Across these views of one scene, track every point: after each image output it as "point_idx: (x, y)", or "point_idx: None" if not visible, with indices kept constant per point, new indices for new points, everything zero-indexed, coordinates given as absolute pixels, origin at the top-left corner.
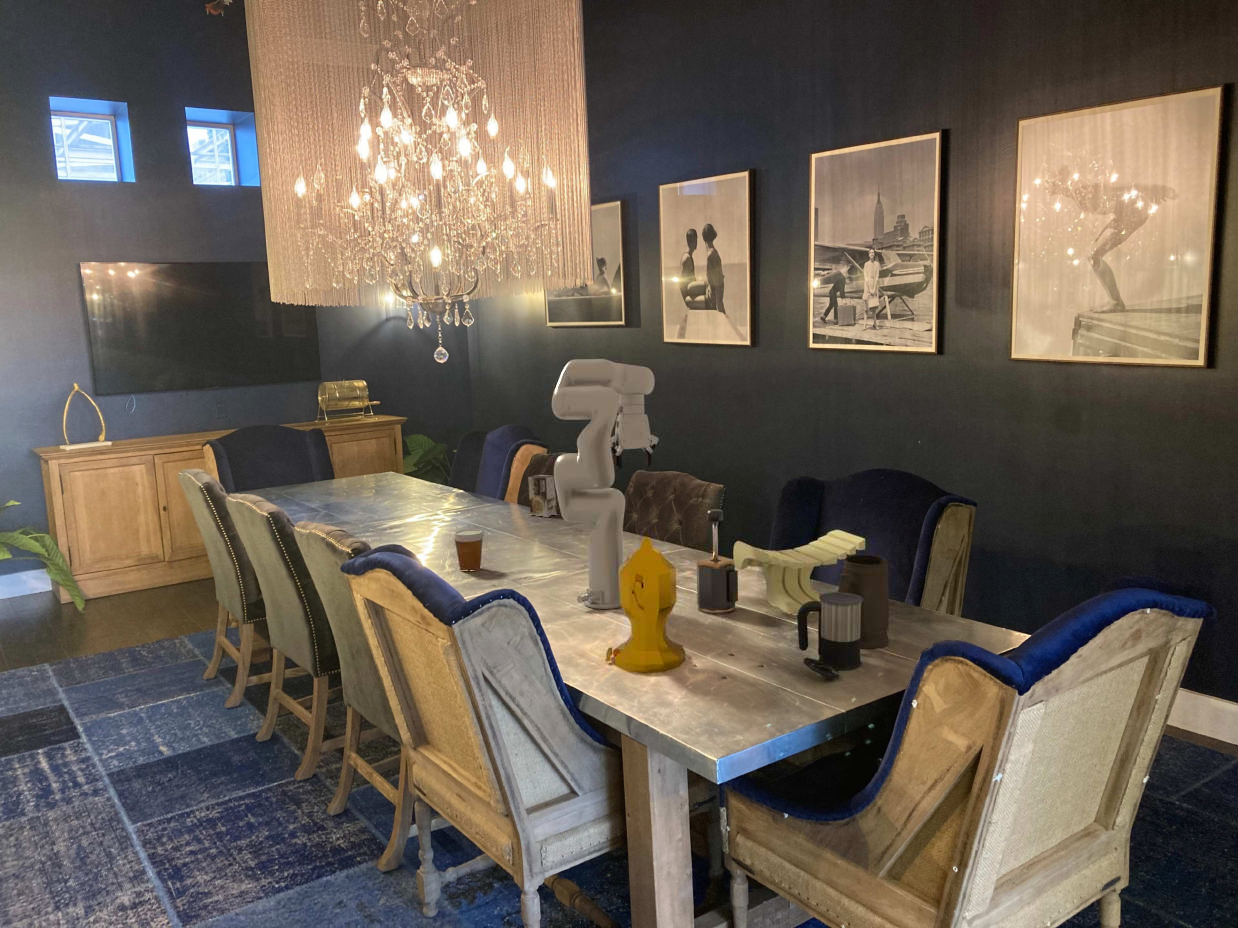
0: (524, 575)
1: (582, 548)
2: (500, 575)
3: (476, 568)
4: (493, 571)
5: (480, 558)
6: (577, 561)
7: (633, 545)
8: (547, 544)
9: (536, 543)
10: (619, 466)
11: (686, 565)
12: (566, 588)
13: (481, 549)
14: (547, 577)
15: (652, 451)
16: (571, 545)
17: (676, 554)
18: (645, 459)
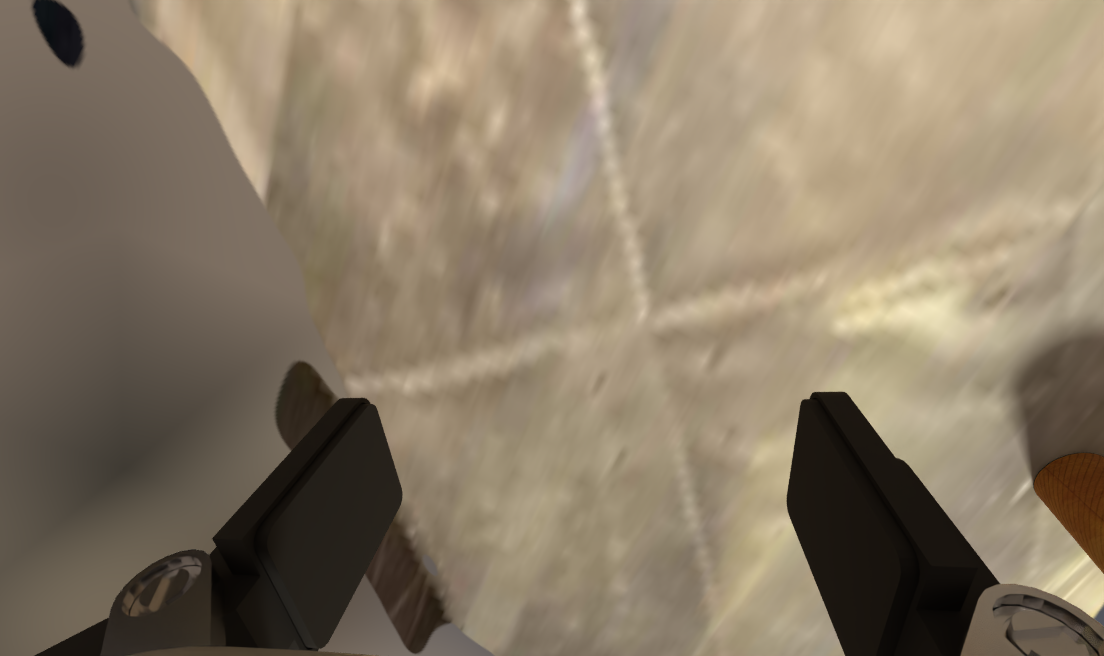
0: (976, 330)
1: (630, 527)
2: (1045, 368)
3: (1077, 459)
4: (1027, 424)
5: (1078, 488)
6: (717, 408)
7: (481, 490)
8: (698, 602)
9: (719, 623)
10: (854, 417)
11: (404, 187)
12: (973, 64)
13: (1100, 514)
14: (926, 266)
15: (138, 576)
16: (643, 566)
17: (393, 340)
18: (352, 522)
